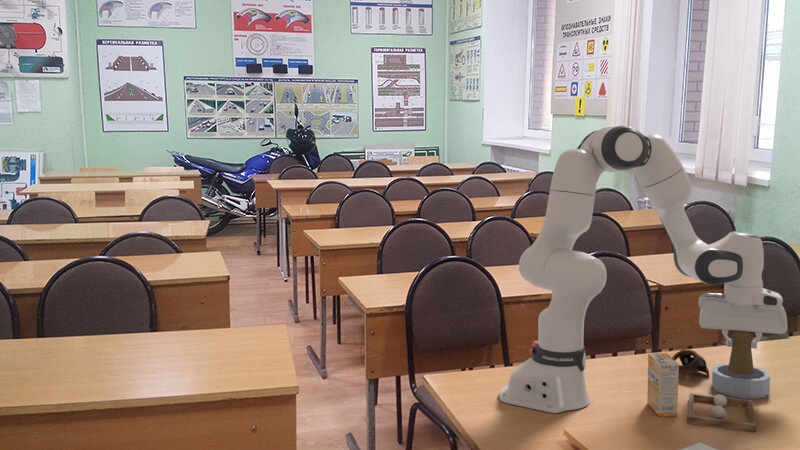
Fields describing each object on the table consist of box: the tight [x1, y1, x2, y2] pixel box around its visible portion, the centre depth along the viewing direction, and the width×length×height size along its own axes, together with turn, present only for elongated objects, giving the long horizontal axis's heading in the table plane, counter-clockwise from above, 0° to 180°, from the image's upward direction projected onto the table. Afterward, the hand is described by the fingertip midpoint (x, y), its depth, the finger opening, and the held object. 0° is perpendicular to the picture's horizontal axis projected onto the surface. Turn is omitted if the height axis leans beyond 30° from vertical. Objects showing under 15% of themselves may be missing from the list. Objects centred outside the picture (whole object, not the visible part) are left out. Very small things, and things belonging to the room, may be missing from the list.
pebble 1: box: [713, 393, 727, 408], centre depth 164 cm, size 3×3×3 cm
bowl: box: [711, 363, 771, 400], centre depth 175 cm, size 13×13×5 cm
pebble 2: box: [710, 405, 726, 419], centre depth 158 cm, size 3×3×3 cm
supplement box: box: [646, 352, 680, 417], centre depth 163 cm, size 8×5×13 cm, turn 178°
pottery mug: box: [671, 348, 710, 378], centre depth 187 cm, size 12×10×8 cm
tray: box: [687, 392, 758, 433], centre depth 160 cm, size 14×16×2 cm
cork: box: [728, 330, 754, 375], centre depth 174 cm, size 6×6×11 cm
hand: (741, 347), depth 174 cm, fingers closed on cork, 4 cm apart
